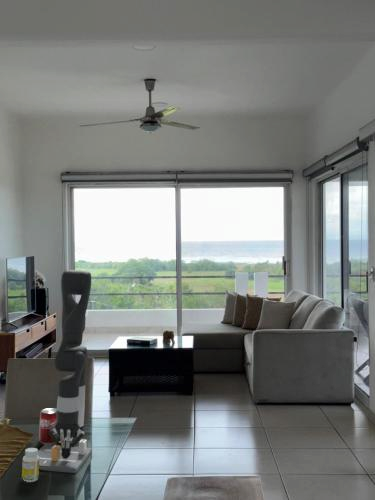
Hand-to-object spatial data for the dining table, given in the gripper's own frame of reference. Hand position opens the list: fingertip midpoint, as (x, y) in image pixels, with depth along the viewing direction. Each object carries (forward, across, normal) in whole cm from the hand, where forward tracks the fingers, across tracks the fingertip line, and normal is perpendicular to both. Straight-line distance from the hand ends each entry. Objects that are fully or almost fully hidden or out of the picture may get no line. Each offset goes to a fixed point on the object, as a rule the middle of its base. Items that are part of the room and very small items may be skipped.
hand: (65, 457), depth 206 cm
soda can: (+3, +13, -21) cm, 25 cm away
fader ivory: (+1, -4, -8) cm, 9 cm away
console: (+2, +3, -4) cm, 6 cm away
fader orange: (+1, +4, 0) cm, 4 cm away
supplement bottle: (+3, +7, +14) cm, 16 cm away
